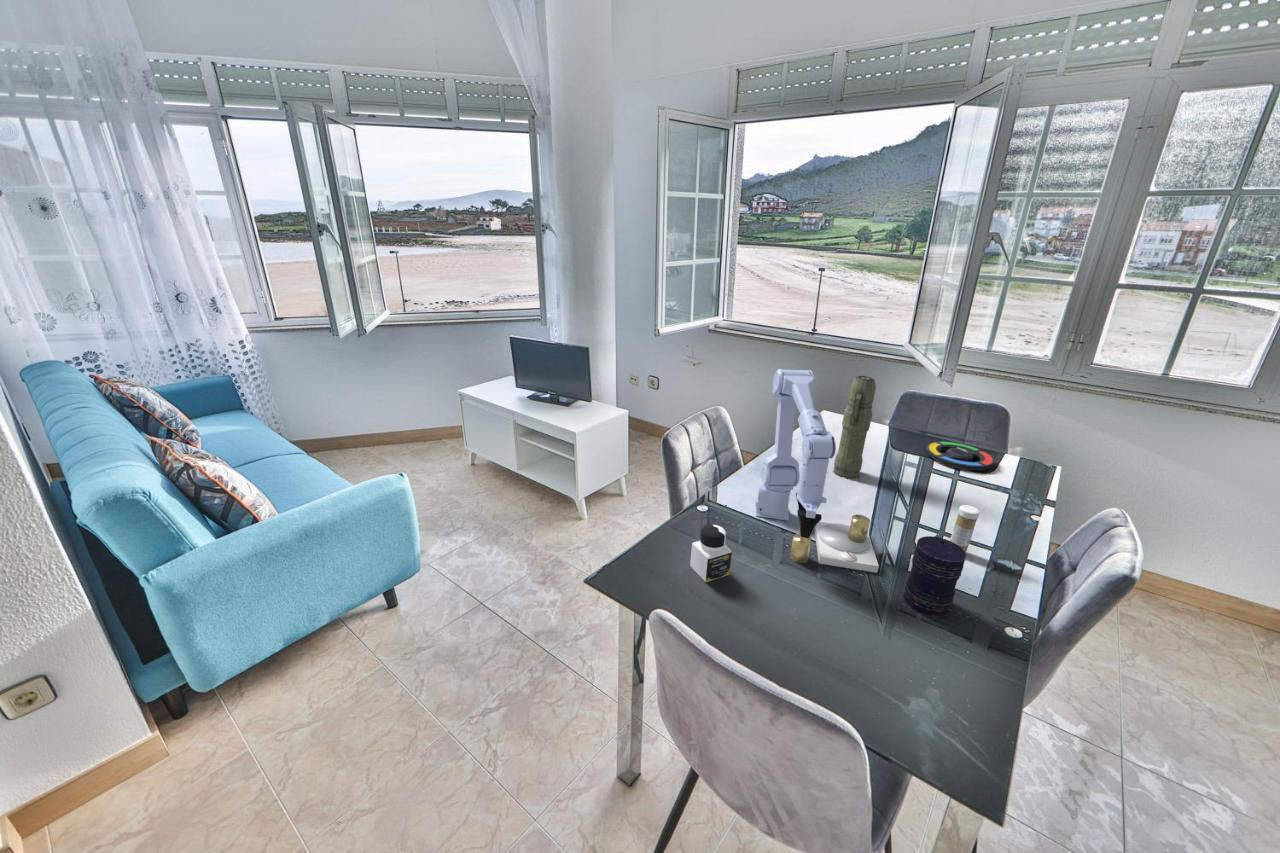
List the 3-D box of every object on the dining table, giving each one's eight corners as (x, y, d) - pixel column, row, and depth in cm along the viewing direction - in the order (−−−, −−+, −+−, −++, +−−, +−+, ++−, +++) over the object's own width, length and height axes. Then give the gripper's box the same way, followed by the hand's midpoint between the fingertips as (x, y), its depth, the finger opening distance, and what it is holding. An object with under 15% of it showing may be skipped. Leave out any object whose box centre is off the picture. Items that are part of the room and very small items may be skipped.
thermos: (861, 469, 188) (881, 375, 175) (857, 482, 178) (878, 384, 166) (835, 464, 192) (853, 371, 179) (830, 476, 182) (848, 379, 169)
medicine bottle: (705, 583, 125) (709, 540, 120) (689, 566, 131) (693, 525, 126) (729, 575, 128) (734, 533, 124) (713, 559, 134) (717, 518, 130)
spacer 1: (790, 561, 134) (793, 541, 132) (789, 551, 138) (792, 532, 136) (808, 564, 133) (812, 544, 131) (807, 554, 138) (810, 535, 135)
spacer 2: (849, 542, 139) (854, 522, 137) (846, 532, 143) (850, 513, 141) (867, 544, 138) (872, 524, 136) (863, 534, 142) (867, 515, 140)
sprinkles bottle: (954, 545, 144) (967, 503, 139) (970, 554, 140) (983, 511, 135) (943, 549, 142) (955, 506, 137) (959, 558, 138) (972, 514, 133)
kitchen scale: (819, 563, 134) (820, 554, 133) (813, 527, 150) (815, 518, 149) (877, 572, 131) (879, 563, 130) (865, 534, 148) (867, 526, 147)
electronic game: (911, 451, 207) (913, 440, 205) (955, 446, 214) (958, 435, 212) (959, 476, 187) (963, 464, 185) (1007, 470, 193) (1011, 458, 192)
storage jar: (948, 624, 115) (966, 567, 109) (899, 606, 120) (914, 551, 114) (950, 599, 123) (967, 545, 117) (905, 583, 128) (919, 531, 122)
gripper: (832, 496, 120) (823, 546, 125) (826, 470, 134) (818, 516, 138) (801, 492, 122) (792, 542, 127) (798, 466, 135) (790, 512, 140)
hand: (804, 528), depth 133 cm, fingers open, 7 cm apart
